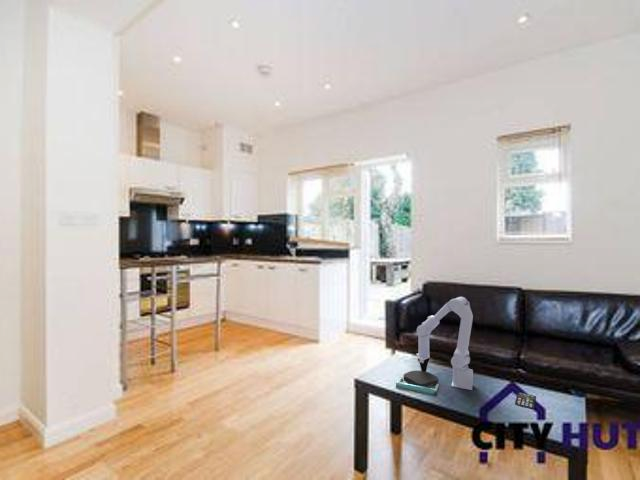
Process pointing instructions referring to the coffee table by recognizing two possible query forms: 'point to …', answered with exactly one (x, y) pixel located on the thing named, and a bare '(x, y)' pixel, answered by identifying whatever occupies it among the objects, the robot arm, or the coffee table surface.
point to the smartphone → (525, 400)
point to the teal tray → (416, 387)
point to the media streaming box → (421, 378)
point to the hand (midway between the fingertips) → (423, 371)
